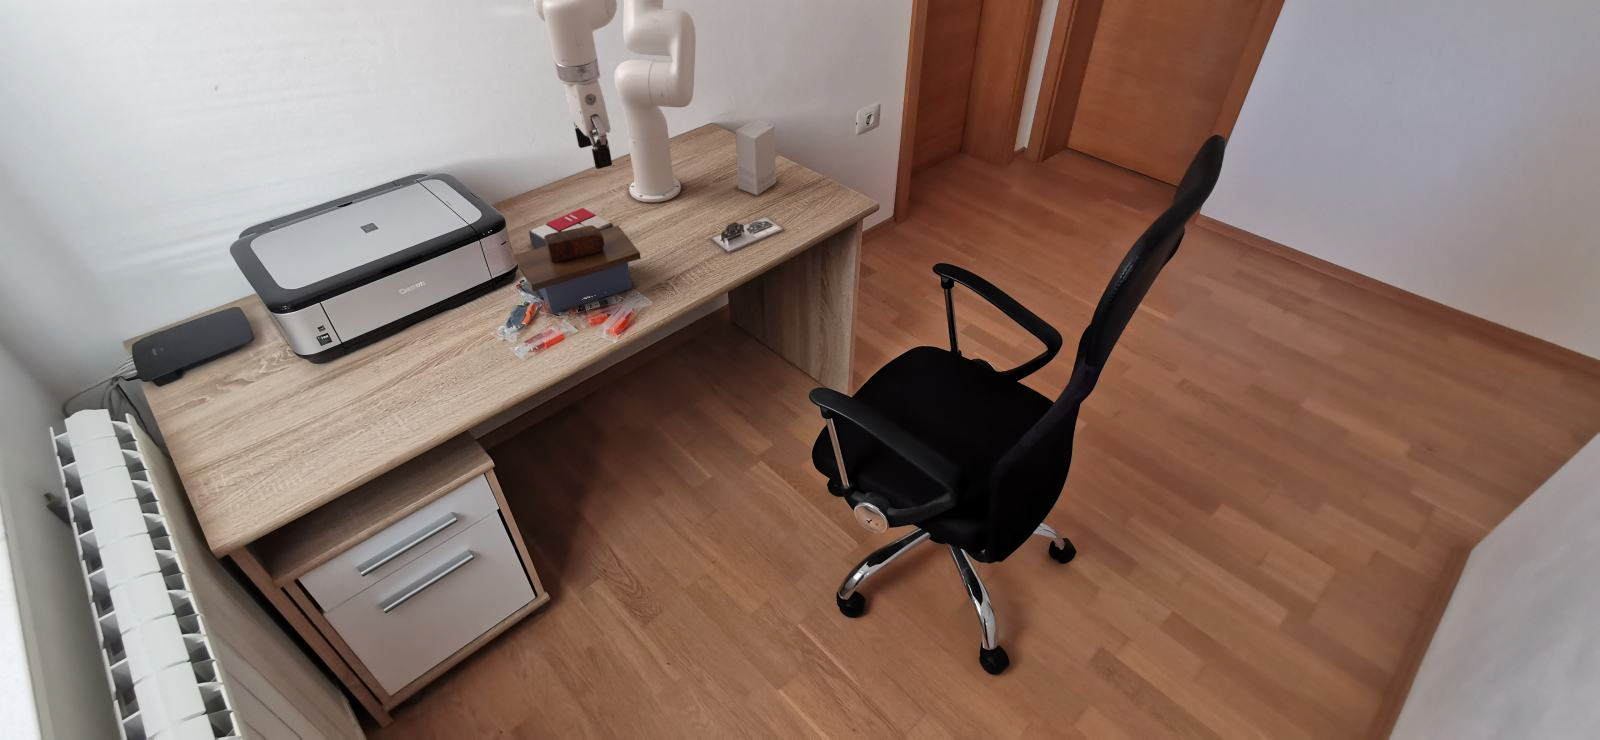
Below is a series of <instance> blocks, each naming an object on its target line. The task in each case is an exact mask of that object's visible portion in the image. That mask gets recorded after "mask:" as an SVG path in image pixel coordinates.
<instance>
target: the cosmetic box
mask: <svg viewBox="0 0 1600 740" xmlns="http://www.w3.org/2000/svg"><path fill="white" fill-rule="evenodd" d="M734 132H735V133H734V134H735V151H736V170H737V171H736V172H737V173H736V174H737V188H738V189H739V190H741V191H744V192H747V193H749V194H751V195H752V194H753V195H755V196H759V195H760V194H762V193H763V192H765V191H766V190H768V189H769V188H770V187H772V186H773V185H775V184H776V182H777V173H776V170H777V169H776V168H777V167H776V165H777V163H776V125H775V124H772V123H769V122H766V121H763V120H760V119H758V118H754V119H753V120H751V121H750V122H748V123H746V124H744V125H743V126H741V127H739V128H737V129H736V130H735V131H734Z"/></svg>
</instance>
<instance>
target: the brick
mask: <svg viewBox="0 0 1600 740" xmlns="http://www.w3.org/2000/svg"><path fill="white" fill-rule="evenodd" d="M544 238H545V242H546V246H547V250H548V254H549V256H550V258H551V261H552V262H554V263H555V262H559V261H564V260H569V259H573V258H577V257H582V256H586V255H590V254H594V253H598V252H602V251H603V247H604V240H603V236H602V234H601V232H600V230H599V229H598V228H596V227H595V226H592V225H590V226H585V227H581V228H576V229H571V230H567V231H562V232H556V233H551V234H548V235H545V236H544Z"/></svg>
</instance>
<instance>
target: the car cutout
mask: <svg viewBox="0 0 1600 740" xmlns="http://www.w3.org/2000/svg"><path fill="white" fill-rule="evenodd" d="M782 231H783V227H781V226H780V225H778V224H777V223H775V222H773V221H772V220H771V219H769V218H768V217H767V216H764V217H761V218H759V219H755V221H754V220H753V221H751V222H749V223H746V224H744V225H743V223H740V224H739V222H738V221H734V222H732V223H729V224H728V225H726V227H725V229H724V230H722V232H721V233H720V234H719V235H716V236H713V237H712V241H714V242H715V243H716V244H717V245H719V246H720V247H721V248H722V249H724V250H725V251H727V252H728V253H732V252H734V251H736V250H739V249H741V248H743V247H746V246H748V245H751V244H753V243H756V242H758V241H761V240H762V239H765V238H768V237H769V236H772V235H775V234H777V233H779V232H782Z"/></svg>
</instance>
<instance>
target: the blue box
mask: <svg viewBox="0 0 1600 740" xmlns="http://www.w3.org/2000/svg"><path fill="white" fill-rule="evenodd" d="M631 289H633V284H632V277H631V273H630V267H629V262H628V263H625V264H621V265H618V266H615V267H612V268H608V269H605V270H602V271H598V272H595V273H592V274H588V275H585V276H582V277H579V278H575V279H572V280H569V281H565V282H562V283H559V284H556V285H552V286H549V287H546V288H542V289H539V290H538V293H540V295H541V297H542V298H543V300H544V302H545V304H546V305H547V308H548V309H549V310H550V313H552V314H555V313H559V312H561V311H564V310H567V309H571V308H574V307H578V306H580V305H583V304H587V303H590V302H593V301H596V300H598V299H603V298H605V297H608V296H612V295H615V294H618V293H622V292H624V291H627V290H631ZM605 292H606V293H605ZM594 295H596V296H594ZM587 296H593V297H590V298H587V299H583V298H584V297H587ZM582 299H583V300H582Z"/></svg>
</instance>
